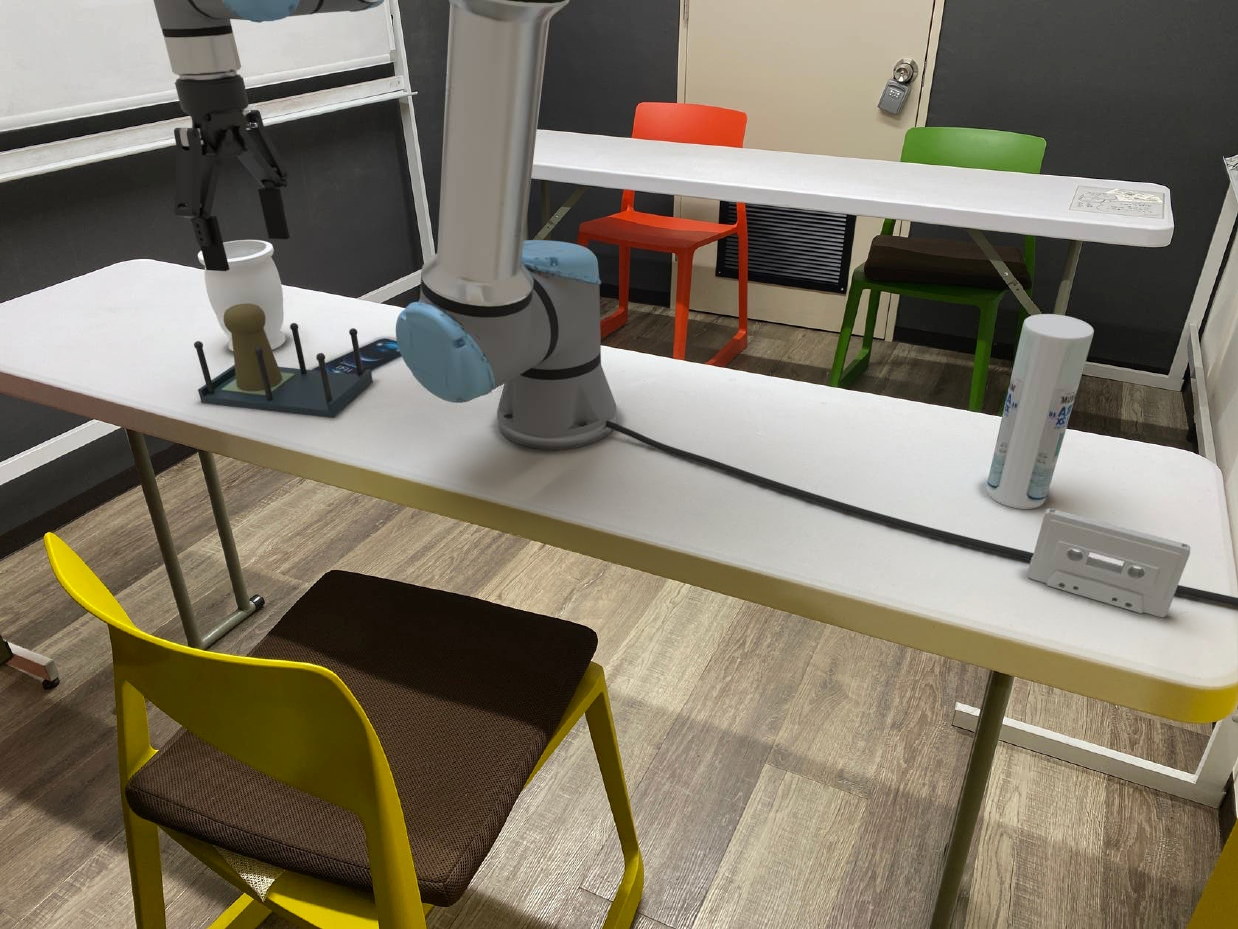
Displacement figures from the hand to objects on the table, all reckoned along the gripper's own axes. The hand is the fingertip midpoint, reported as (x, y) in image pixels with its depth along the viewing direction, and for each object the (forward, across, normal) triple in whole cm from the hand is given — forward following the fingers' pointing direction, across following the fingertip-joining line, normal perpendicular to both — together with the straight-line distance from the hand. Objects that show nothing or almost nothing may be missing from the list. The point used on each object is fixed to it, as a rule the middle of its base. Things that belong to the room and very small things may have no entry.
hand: (250, 253), depth 116 cm
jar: (+19, -13, -12) cm, 26 cm away
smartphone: (+20, -12, +7) cm, 24 cm away
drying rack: (+19, +1, +2) cm, 19 cm away
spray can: (+21, +7, +95) cm, 98 cm away
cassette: (+21, +24, +100) cm, 105 cm away
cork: (+18, +1, -3) cm, 18 cm away
